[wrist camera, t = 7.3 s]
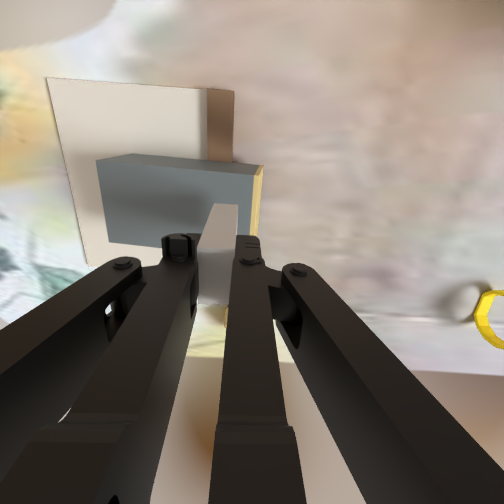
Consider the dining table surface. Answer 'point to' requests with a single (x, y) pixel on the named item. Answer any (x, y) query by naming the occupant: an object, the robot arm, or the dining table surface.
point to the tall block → (173, 196)
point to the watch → (482, 318)
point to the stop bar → (220, 125)
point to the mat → (121, 144)
